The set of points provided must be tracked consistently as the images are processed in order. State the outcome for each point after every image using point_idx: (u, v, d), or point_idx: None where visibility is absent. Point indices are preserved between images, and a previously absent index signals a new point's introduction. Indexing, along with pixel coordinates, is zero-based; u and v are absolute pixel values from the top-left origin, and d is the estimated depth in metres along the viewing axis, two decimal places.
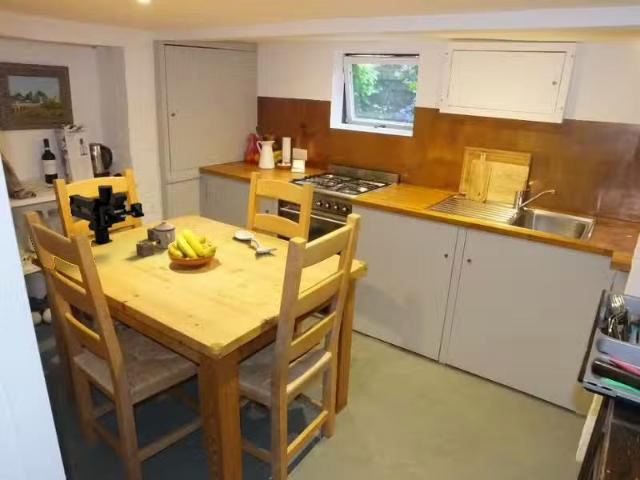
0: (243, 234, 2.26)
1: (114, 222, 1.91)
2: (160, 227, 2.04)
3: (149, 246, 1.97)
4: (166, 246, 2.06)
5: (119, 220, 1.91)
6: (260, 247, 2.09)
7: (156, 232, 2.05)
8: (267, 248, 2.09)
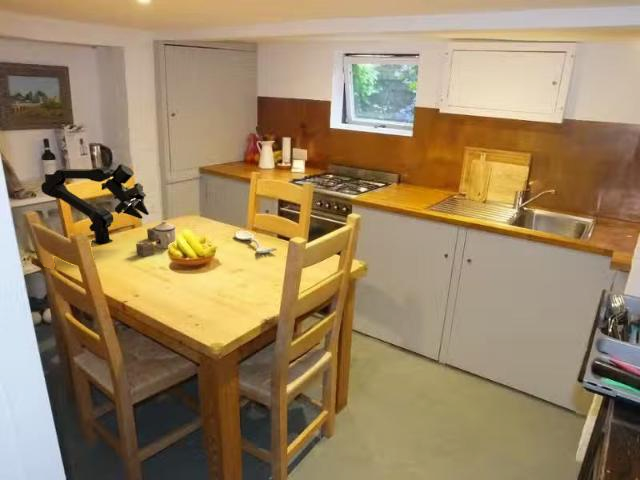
0: (244, 234, 2.26)
1: (129, 213, 2.01)
2: (160, 227, 2.04)
3: (149, 246, 1.97)
4: (166, 246, 2.06)
5: (136, 215, 2.01)
6: (260, 247, 2.09)
7: (156, 232, 2.05)
8: (267, 248, 2.09)
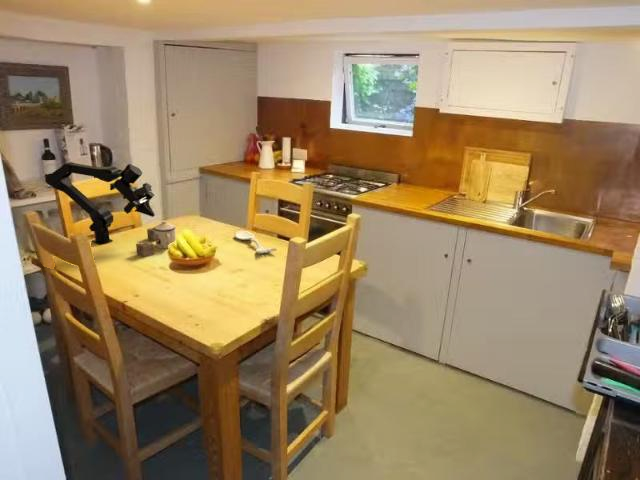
0: (244, 234, 2.26)
1: (141, 211, 2.03)
2: (160, 227, 2.04)
3: (149, 246, 1.97)
4: (166, 246, 2.06)
5: (147, 213, 2.04)
6: (260, 247, 2.09)
7: (156, 232, 2.05)
8: (267, 248, 2.08)
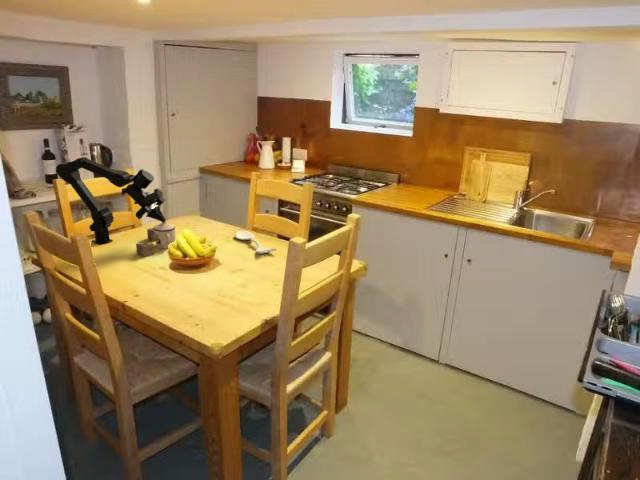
0: (244, 234, 2.26)
1: (152, 217, 2.03)
2: (160, 227, 2.04)
3: (149, 246, 1.97)
4: (166, 246, 2.06)
5: (159, 218, 2.04)
6: (260, 247, 2.09)
7: (156, 232, 2.05)
8: (266, 248, 2.08)
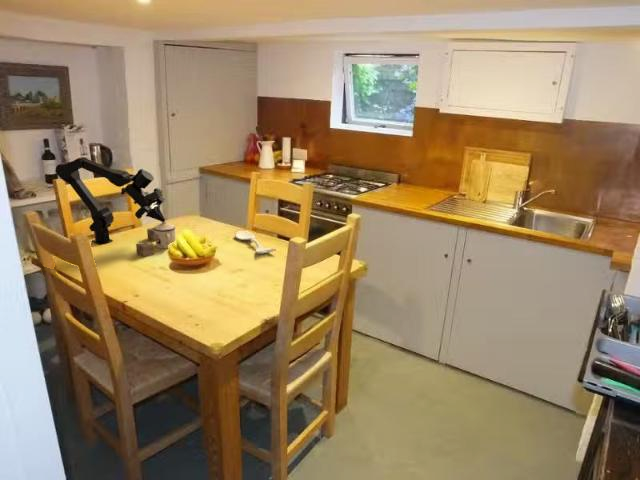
0: (244, 234, 2.26)
1: (152, 216, 2.03)
2: (160, 227, 2.04)
3: (149, 246, 1.97)
4: (166, 246, 2.06)
5: (158, 218, 2.04)
6: (259, 247, 2.09)
7: (156, 232, 2.05)
8: (266, 248, 2.08)
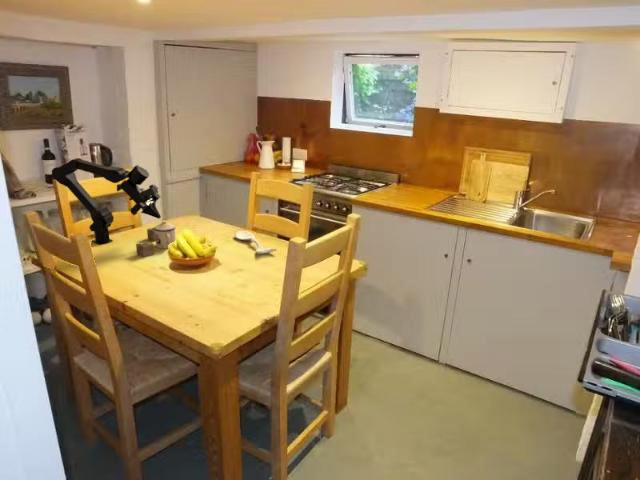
0: (244, 234, 2.26)
1: (147, 213, 2.03)
2: (160, 227, 2.04)
3: (149, 246, 1.97)
4: (166, 246, 2.06)
5: (154, 214, 2.04)
6: (260, 248, 2.09)
7: (156, 232, 2.05)
8: (267, 249, 2.08)
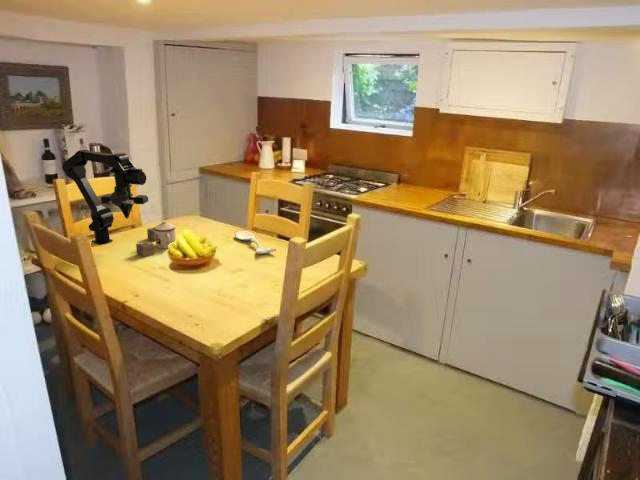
0: (244, 234, 2.26)
1: None
2: (160, 227, 2.04)
3: (149, 246, 1.97)
4: (166, 246, 2.06)
5: None
6: (260, 248, 2.08)
7: (156, 232, 2.05)
8: (267, 249, 2.08)
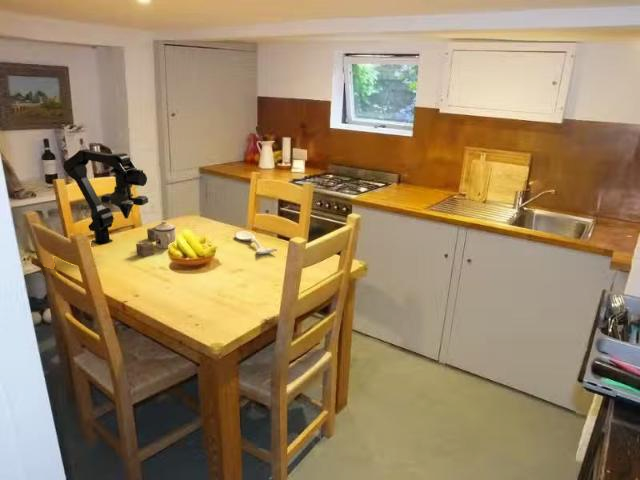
0: (244, 234, 2.26)
1: None
2: (160, 227, 2.04)
3: (149, 246, 1.97)
4: (166, 246, 2.06)
5: None
6: (260, 248, 2.08)
7: (156, 232, 2.05)
8: (267, 249, 2.08)
